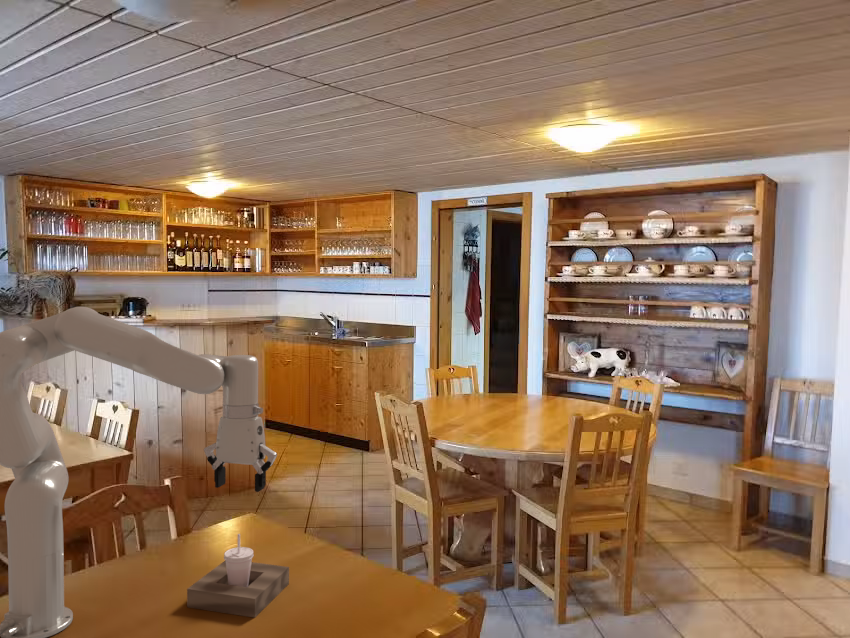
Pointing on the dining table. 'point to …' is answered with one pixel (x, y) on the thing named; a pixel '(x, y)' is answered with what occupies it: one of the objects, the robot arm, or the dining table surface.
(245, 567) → the smoothie
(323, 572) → the dining table surface
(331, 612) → the dining table surface
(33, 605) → the robot arm
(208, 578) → the bottle stand
